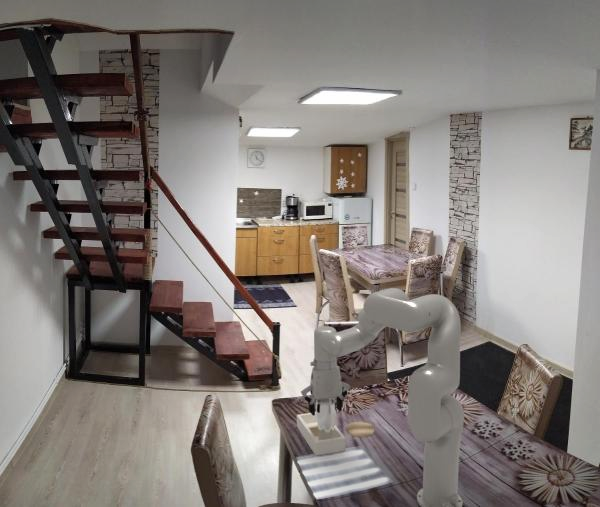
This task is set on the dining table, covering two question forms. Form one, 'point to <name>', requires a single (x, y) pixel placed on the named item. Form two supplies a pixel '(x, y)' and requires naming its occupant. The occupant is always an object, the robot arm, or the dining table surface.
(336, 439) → the cream divided tray
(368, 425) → the cork trivet
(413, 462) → the dining table surface
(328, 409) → the beer glass
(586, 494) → the dining table surface
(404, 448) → the dining table surface
